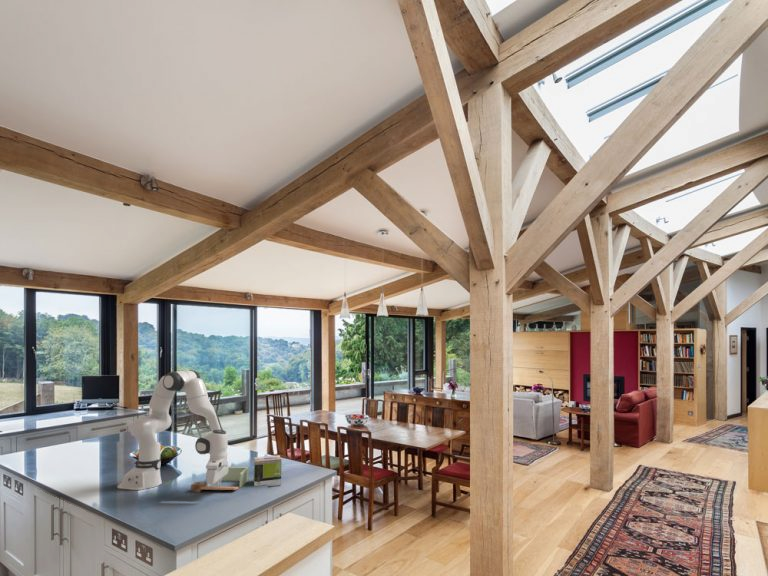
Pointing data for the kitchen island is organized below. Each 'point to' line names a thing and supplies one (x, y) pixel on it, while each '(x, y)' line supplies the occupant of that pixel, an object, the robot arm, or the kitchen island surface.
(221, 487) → the board
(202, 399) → the robot arm
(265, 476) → the tea box
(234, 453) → the kitchen island surface
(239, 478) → the box
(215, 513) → the kitchen island surface
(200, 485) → the walnut block
